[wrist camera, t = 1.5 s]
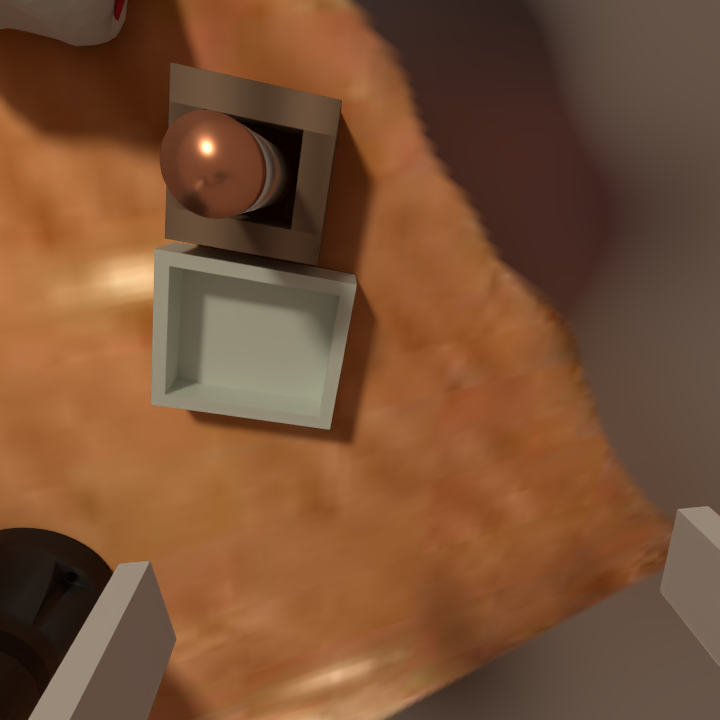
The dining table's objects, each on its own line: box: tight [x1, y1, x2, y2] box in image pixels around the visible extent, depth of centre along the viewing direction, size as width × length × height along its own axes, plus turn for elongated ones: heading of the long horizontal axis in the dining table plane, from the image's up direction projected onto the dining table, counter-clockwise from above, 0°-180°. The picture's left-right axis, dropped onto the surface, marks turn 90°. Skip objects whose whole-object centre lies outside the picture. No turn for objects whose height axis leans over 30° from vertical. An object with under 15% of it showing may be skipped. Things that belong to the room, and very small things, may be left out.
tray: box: [151, 242, 357, 430], centre depth 35 cm, size 14×12×4 cm
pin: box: [160, 110, 293, 219], centre depth 26 cm, size 4×4×14 cm
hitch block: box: [165, 62, 342, 266], centre depth 30 cm, size 10×10×5 cm
